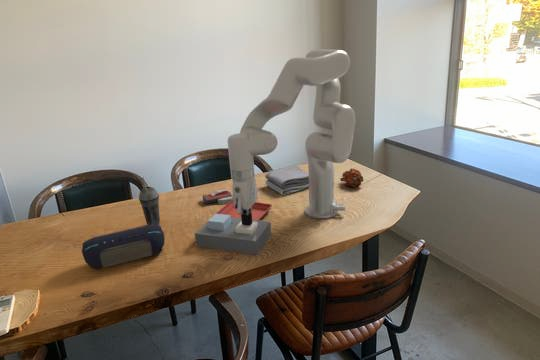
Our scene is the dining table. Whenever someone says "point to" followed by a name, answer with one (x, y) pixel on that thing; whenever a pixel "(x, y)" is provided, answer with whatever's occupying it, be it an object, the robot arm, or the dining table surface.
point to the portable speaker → (123, 246)
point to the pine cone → (352, 177)
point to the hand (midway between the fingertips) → (247, 223)
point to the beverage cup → (150, 204)
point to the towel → (288, 179)
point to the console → (234, 238)
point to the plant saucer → (257, 212)
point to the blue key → (219, 222)
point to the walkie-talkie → (217, 197)
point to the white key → (246, 228)
